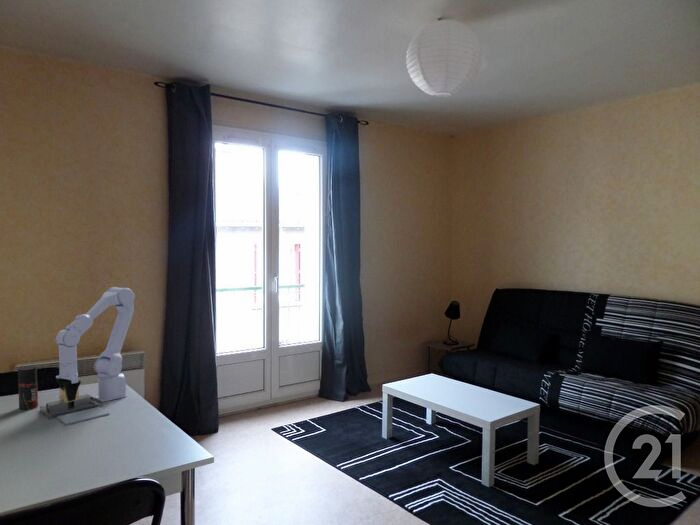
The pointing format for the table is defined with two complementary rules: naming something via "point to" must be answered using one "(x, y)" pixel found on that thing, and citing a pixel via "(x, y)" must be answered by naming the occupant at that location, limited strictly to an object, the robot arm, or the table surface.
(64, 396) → the collar
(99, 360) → the robot arm
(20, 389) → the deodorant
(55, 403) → the vise
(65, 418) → the mat
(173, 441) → the table surface
